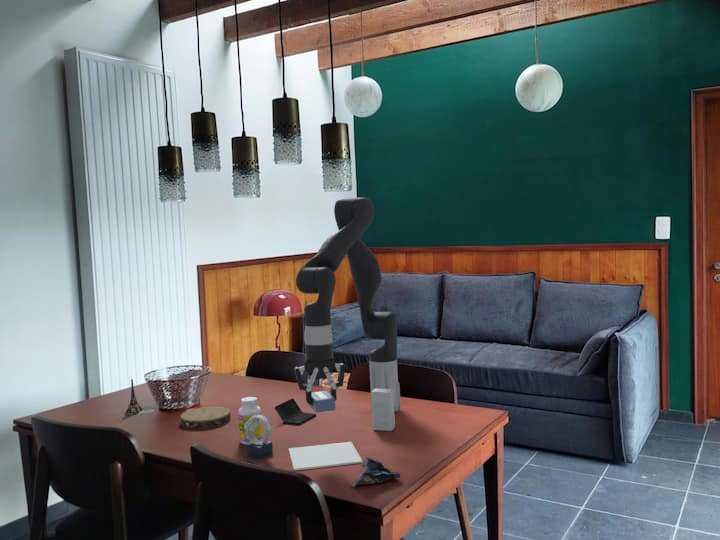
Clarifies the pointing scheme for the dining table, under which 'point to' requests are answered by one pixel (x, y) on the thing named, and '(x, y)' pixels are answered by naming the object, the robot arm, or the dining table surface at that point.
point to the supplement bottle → (245, 413)
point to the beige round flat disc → (205, 417)
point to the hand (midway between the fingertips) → (321, 403)
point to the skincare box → (383, 409)
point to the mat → (324, 456)
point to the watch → (258, 446)
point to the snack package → (374, 473)
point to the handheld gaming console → (292, 413)
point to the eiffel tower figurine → (135, 405)
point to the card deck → (322, 401)
